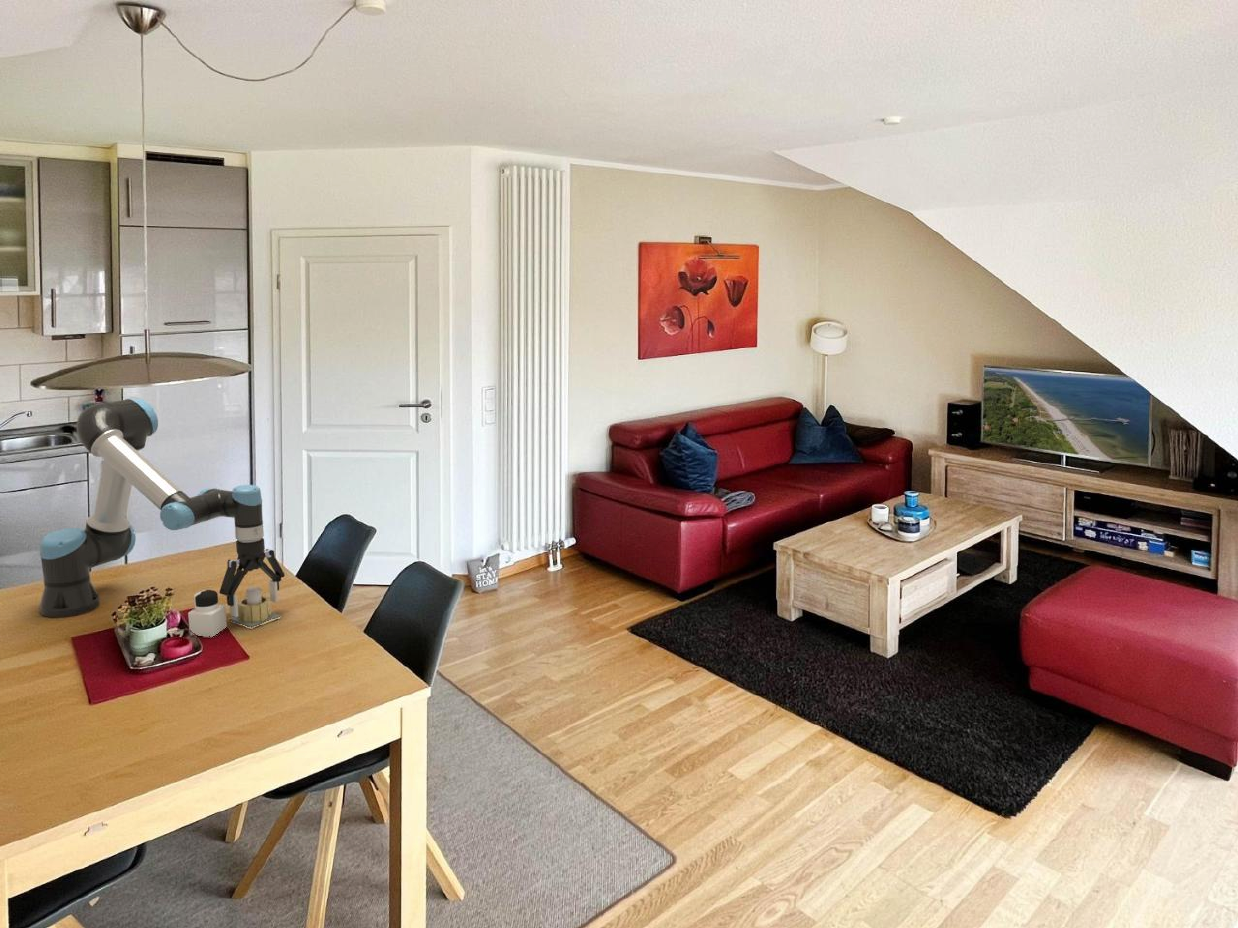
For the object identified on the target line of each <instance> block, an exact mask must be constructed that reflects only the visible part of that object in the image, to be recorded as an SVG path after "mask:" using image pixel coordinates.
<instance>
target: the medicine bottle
mask: <svg viewBox="0 0 1238 928" xmlns="http://www.w3.org/2000/svg"><path fill="white" fill-rule="evenodd" d="M193 602H194V608H193V609H192V610H191V611H189V612H188V613H187V615H188V626H189V631H190V630H191V631H192V632H193V633H195V634H196V635H198V636H203V637H202V638H212V637H213V636H215V635H216V634H218V633H219V632H220V631H222V630H223V629H225V628H226V627H227V628H228V626H227V613H226V605H225V604H219V596H218V591H216V590H212V589H204V590H201V591H198V592H196V593H195V594H194V595H193ZM227 628H226V629H227ZM226 629H225V630H226ZM223 631H224V630H223ZM223 631H222V632H223ZM219 634H220V633H219ZM219 634H218V635H219ZM209 636H210V637H209ZM216 636H217V635H216ZM216 636H215V637H216ZM213 638H214V637H213Z"/></svg>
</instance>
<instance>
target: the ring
mask: <svg viewBox="0 0 1238 928" xmlns="http://www.w3.org/2000/svg"><path fill="white" fill-rule="evenodd" d="M261 599H262V603H260V604H256V605H247V597H246V596H245V597H242V598H240V599H237V602H238V620H239V621H241V622H244V623H255V622H261V621H264V620H267V619H269V618H270V617H271V616H272V613H273V612H272V602H271V599H270V596H267V595H264V594H263V595H262V594H261Z"/></svg>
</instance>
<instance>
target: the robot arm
mask: <svg viewBox="0 0 1238 928" xmlns="http://www.w3.org/2000/svg"><path fill="white" fill-rule="evenodd" d="M158 428H159V419H158V415H157V413H156V411H155V410H154V407H153V406H152V405H151V404H150V403H149V402H147V400H144V399H140V398H133V399H131V398H127V399H124V400H123V399H121V400H116V401H109V402H103V403H101V402H100V403H95V404H92V405H89V406H88V407H86V408H85V409H84V410H83V411H82V412H81V413H80V415H78V419H77V422H76V434H77V436H78V438H79V440H80V442H81V444H82V445H83V446H84V448H85V449H86V450H87V451H88V453H90V454H92V456H94V457H97V458H102V459H103V460H102V466H101V472H100V479H99V481H98V482H99V483H98V487H97V488H98V489H97V495H96V500H95V506H94V511H93V514H91V515H90V516H87V519H86V524H85V528H84V529H82V528H79V527H70V528H69V527H68V528H65V529H58V530H55V531H53V532H50V533H48V534H46V535H45V536H44V537H42V539H41V540H40V543H39V548H40V549H39V556H40V560H41V566H42V567H41V568H42V576H43V583H44V584H43V585H44V587H43V588H44V589H43V591H42V596H41V599H40V603H39V610H40V615H42V616H44V617H48V618H66V617H73V616H79V615H83V614H86V613H89V612H91V611H94V610H95V609H97V608H98V607H99V606H100V603H101V602H100V597H99V594H98V592H97V590H96V589H95V587H94V584H93V583H92V581H91V576H90V569H91V568H94V567H98V566H101V565H104V564H106V563H110V562H113V561H117V560H119V559H121V558H123V557H125V556H128V555H129V554H130V553H131V552H132V550H133V549H134V547H135V545H136V538H137V537H136V534H135V533H134V532H135V529H134V528H133V526H132V525H131V521H130V520H129V519H128V518H126V517H127V512H128V508H129V507H128V506H129V501H130V496H131V491H132V486H133V487H134V488H135V489H137V491H138V492H140V493H141V494H142V495H143V496H144V497H145V498H146V499H147V500H149V502H151V503H152V504H153V505H154V506H156V508H157V509H158V510H160V513H159V517H160V518H159V519H160V521H162V525H163V526H164V527H165V528H166V529H168V530H171V531H179V530H183V529H188V528H190V527H192V526H195V525H198V524H200V523H203V522H207V521H210V520H213V519H215V518H216V519H217V518H219V517H225V518H232V519H234V533H235V540H236V541H235V544H236V545H235V546H236V553H237V558H236V559H233V560H232V559H228V560H227V563H226V565H227V568H226V571H225V574H224V576H223V580H222V583H221V585H220V588H219V589H220V590H219V594H221V595H223V596H226V604H227V606H228V607H229V613H230V616H232V617H237V616H238V602H237V601H238V594H235V593H236V591H237V590H238V588H239V586H240V585H241V583H242V582H243V580H244V577H245V576H246V575H248V573H249V572H253V571H254V570H259V569H261V571H263V572H264V574H265V575H267V576H268V577H269V578H270V580H268V586H269V588H268V589H269V597H270V599H271V603H274V604H278V603H279V596H278V595H279V594H278V593H279V591H280V582H281V581H282V578H285V572H284V570H283V569H282V567H281V566H280V563H279V561H278V560H277V559H276V556H275V550H273V549H270V548H266V547H265V539H264V536H265V535H264V534H265V533H264V531H265V530H264V520H263V518H264V517H263V498H262V491H261V488H260V487H259V486H258V485H256V484H242V485H237V486H235V487H233V489H232V491H231V490H226V489H219V488H204V489H202V490H201V491H200V492H198V494H197V495H195V496H192V497H189V496H188V495H187V494H186V493H185V492H183V490H182V489H181V488H179V487H178V486H177V485H176V484H175V483H174V482H173V481H171V480H170V479H169V478H168V477H167V476H166V475H165V474H164V473H163V472H161V471H160V470H159V469H158V468H157V467H156V466H154V464H153V463H151V461H150V460H148V459H147V458H146V457H145V456H144V455H143V454H141V453H140V451H142V450H144V449H145V447H146V442H147V437H150V436H151V437H152V435H154V434H155V433H156V432H157V431H158ZM265 548H266V549H265ZM265 558H266V559H267V561H268V564H270V566H271V568H272V569H271V568H270V567H269V566H268V565H267V563H265V561H264V560H265Z"/></svg>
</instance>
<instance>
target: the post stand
mask: <svg viewBox="0 0 1238 928" xmlns="http://www.w3.org/2000/svg"><path fill="white" fill-rule="evenodd" d="M245 592H246V596H245V597H247V605H256V604H260V603H262V599H261V595H262V588H261V587H259V586H253V587H249V588H247V589H246V590H245ZM280 616H281V617H282V615H280V614H277V613H274V612H272V616H271V617H270V618H269V619H267V620H264V621H261V622H255V623H244V622H241V621H239V620H238V616H237V617H235V616H232V617H230V618H229V622H230V621H232V622H235V623H238V624H242V625H245V626H247V627H251V628H252V627H254V626H257V625H260V624H262V623H264V622H266V621H269V620H271V619H275V618H278V617H280ZM232 622H231V623H232ZM235 623H234V624H235ZM238 624H237V625H238Z"/></svg>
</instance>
